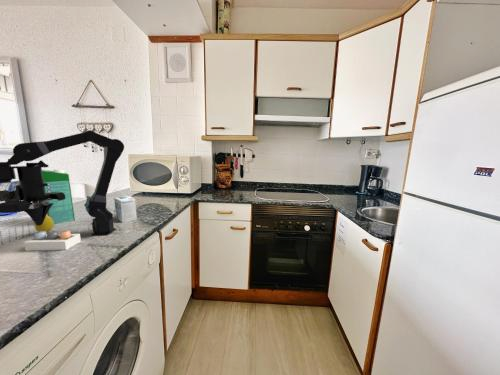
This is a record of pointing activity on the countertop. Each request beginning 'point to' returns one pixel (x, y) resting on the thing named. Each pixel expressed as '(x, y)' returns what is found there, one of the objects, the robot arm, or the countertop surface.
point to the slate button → (40, 235)
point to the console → (52, 243)
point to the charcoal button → (52, 235)
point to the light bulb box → (125, 208)
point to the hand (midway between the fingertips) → (39, 225)
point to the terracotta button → (65, 235)
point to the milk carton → (59, 183)
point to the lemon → (45, 225)
